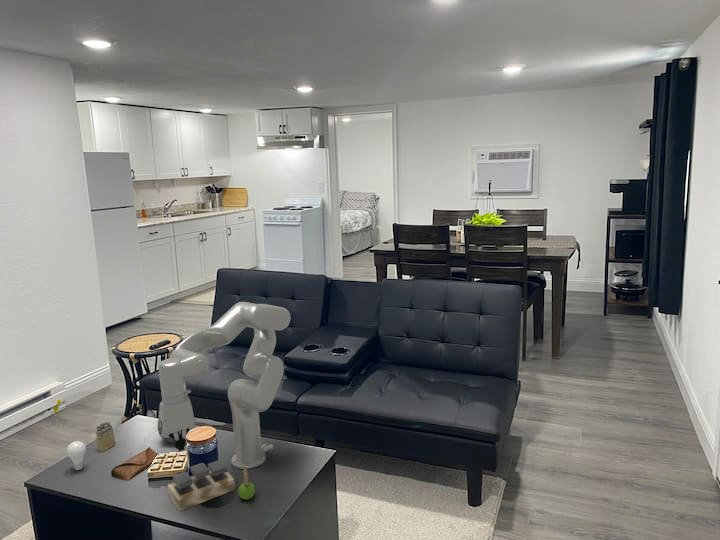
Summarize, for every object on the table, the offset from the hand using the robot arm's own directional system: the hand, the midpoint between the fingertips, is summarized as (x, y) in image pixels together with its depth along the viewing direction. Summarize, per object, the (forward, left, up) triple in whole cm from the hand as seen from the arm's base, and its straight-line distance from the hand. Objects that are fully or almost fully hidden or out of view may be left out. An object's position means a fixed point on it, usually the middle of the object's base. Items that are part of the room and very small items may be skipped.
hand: (180, 448), depth 182 cm
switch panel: (-6, 0, -18) cm, 19 cm away
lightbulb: (+25, -43, -18) cm, 53 cm away
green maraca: (-16, +13, -18) cm, 28 cm away
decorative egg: (-10, -42, -18) cm, 47 cm away
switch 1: (0, 0, -14) cm, 14 cm away
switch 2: (-12, 0, -13) cm, 18 cm away
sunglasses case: (+7, -31, -19) cm, 37 cm away
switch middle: (-6, 0, -12) cm, 14 cm away
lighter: (+13, -54, -18) cm, 58 cm away
